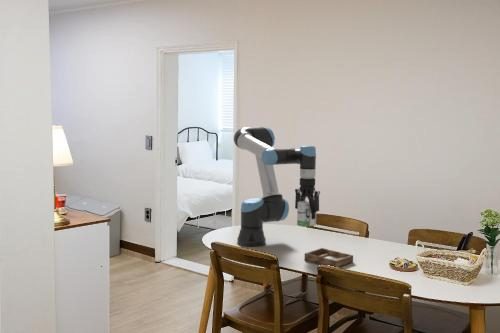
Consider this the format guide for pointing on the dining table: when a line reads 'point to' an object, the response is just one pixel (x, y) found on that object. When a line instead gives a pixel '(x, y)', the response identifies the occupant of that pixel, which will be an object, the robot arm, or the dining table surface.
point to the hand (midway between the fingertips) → (306, 224)
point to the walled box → (328, 257)
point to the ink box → (304, 214)
